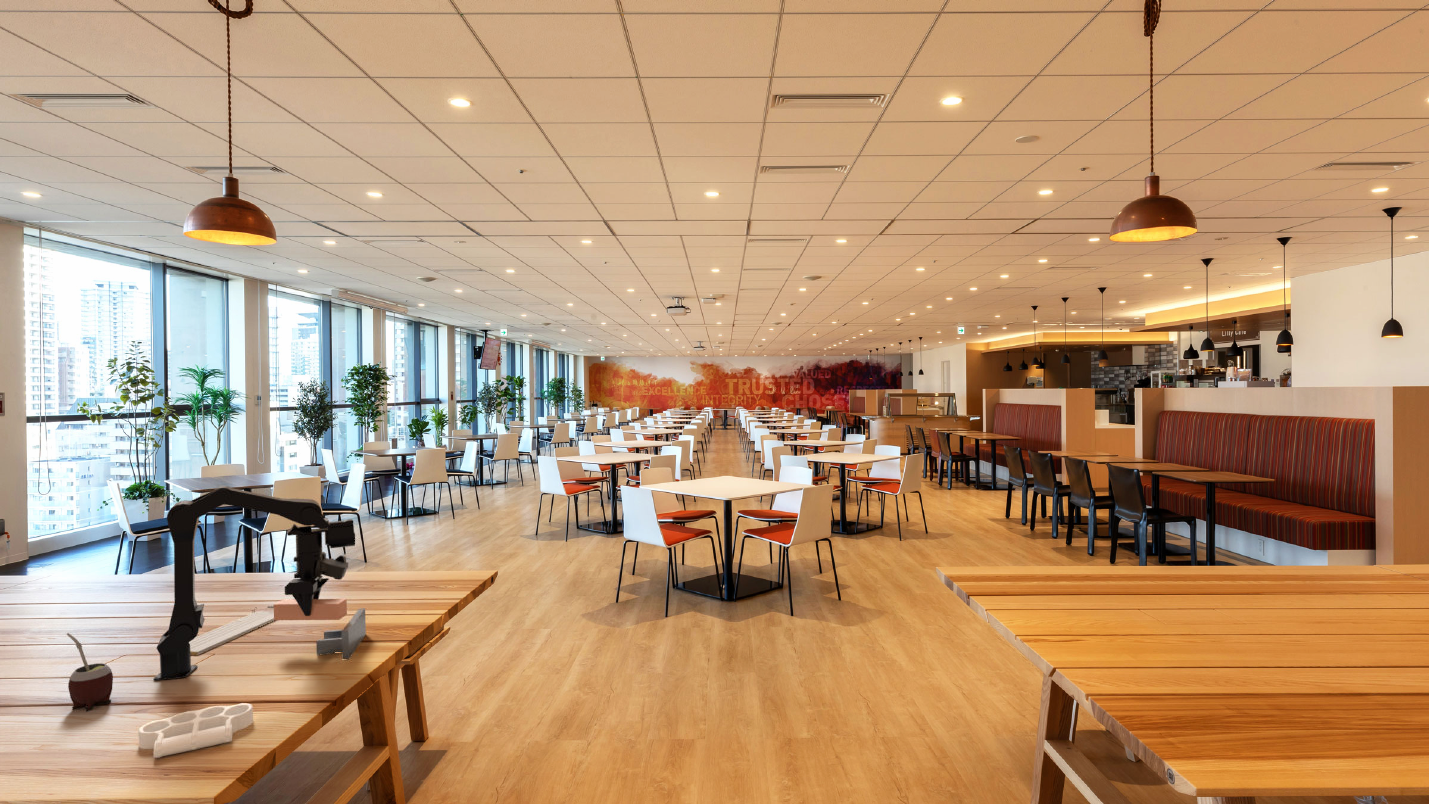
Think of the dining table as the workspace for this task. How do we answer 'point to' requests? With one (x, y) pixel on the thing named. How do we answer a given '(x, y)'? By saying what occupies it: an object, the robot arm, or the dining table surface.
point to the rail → (319, 611)
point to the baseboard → (230, 631)
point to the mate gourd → (90, 683)
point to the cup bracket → (344, 637)
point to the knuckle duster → (195, 729)
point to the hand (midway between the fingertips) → (310, 612)
